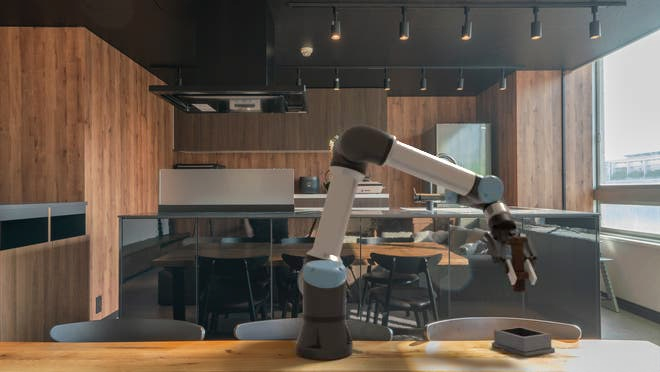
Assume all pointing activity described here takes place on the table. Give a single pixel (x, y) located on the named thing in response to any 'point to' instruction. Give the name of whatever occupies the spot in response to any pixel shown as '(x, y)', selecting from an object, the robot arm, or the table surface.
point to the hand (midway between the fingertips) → (524, 281)
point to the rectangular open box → (523, 341)
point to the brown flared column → (518, 261)
